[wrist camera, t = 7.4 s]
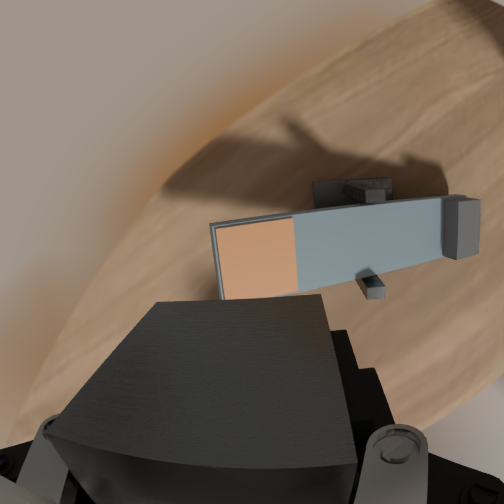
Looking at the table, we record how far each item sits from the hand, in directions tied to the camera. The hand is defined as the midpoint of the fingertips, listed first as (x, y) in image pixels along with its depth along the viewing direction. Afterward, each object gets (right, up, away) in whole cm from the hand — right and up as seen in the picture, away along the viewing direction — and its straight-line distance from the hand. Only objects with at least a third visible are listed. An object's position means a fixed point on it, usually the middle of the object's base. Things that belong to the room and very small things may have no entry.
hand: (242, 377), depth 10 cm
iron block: (0, 0, 0) cm, 1 cm away
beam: (+10, +5, +17) cm, 20 cm away
